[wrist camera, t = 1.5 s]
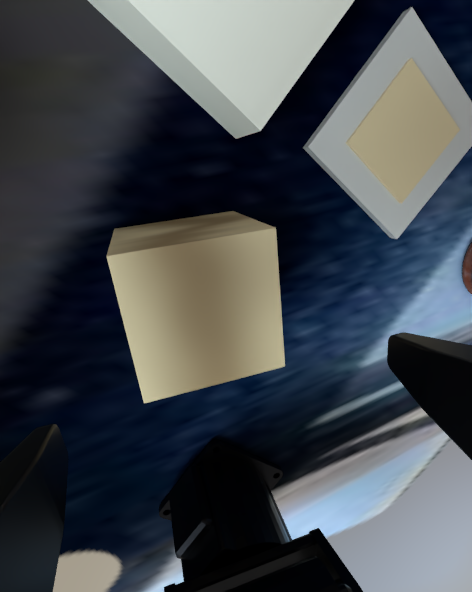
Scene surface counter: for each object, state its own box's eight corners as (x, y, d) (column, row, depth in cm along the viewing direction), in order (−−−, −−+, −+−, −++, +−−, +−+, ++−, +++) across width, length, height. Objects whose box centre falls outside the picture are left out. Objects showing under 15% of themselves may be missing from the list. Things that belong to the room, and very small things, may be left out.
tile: (477, 127, 20) (490, 126, 20) (390, 237, 21) (399, 240, 20) (403, 11, 17) (415, 5, 16) (302, 147, 18) (309, 146, 17)
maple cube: (232, 210, 18) (276, 227, 13) (243, 314, 20) (285, 366, 15) (114, 228, 17) (106, 256, 11) (140, 337, 19) (143, 403, 14)
